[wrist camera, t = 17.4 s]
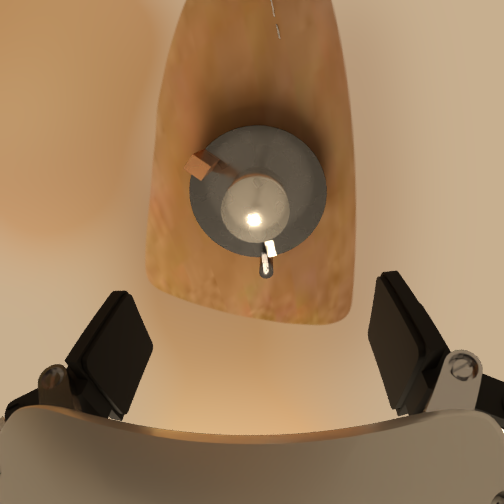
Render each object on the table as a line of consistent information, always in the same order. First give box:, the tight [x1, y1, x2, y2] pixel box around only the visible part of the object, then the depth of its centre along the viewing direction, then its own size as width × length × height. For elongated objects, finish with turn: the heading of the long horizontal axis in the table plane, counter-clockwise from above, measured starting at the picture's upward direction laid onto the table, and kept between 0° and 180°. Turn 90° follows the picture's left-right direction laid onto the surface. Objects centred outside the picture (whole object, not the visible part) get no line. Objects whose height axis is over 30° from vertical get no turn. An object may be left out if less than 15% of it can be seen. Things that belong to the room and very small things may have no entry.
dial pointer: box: [259, 252, 273, 278], centre depth 34 cm, size 3×2×4 cm, turn 7°
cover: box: [221, 167, 290, 243], centre depth 27 cm, size 6×6×6 cm
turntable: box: [183, 125, 327, 257], centre depth 28 cm, size 15×15×7 cm
